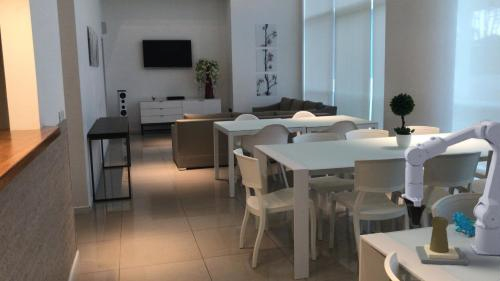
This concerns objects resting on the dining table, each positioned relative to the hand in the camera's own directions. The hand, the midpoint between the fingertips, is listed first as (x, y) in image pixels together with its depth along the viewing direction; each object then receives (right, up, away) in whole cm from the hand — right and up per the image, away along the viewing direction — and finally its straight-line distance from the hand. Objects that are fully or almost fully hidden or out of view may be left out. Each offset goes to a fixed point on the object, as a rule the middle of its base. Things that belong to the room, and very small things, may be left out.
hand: (413, 221), depth 162 cm
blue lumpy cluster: (+25, -8, +16) cm, 31 cm away
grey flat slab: (+7, -11, -5) cm, 14 cm away
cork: (+6, -9, -6) cm, 12 cm away
